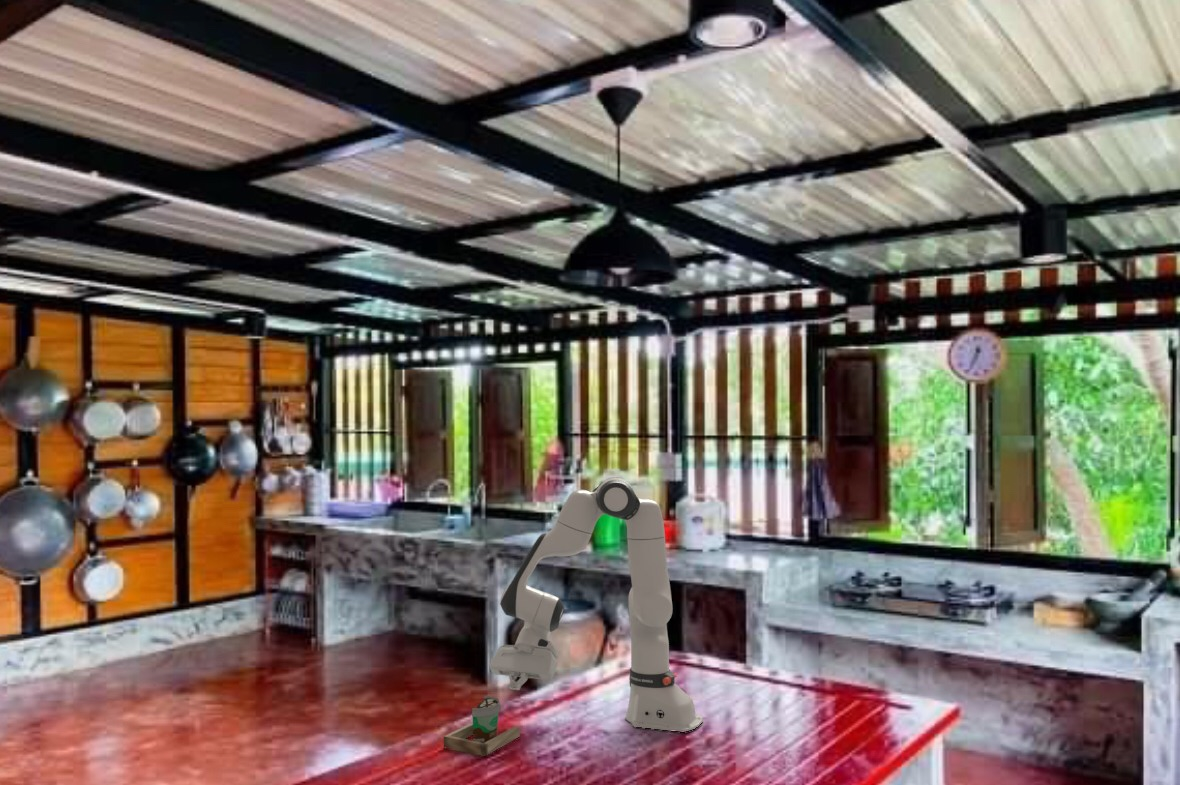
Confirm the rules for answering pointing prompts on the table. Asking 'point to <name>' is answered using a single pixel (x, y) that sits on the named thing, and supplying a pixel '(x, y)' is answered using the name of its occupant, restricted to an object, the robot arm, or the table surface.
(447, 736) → the wooden u-shaped frame
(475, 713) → the food container
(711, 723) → the table surface
